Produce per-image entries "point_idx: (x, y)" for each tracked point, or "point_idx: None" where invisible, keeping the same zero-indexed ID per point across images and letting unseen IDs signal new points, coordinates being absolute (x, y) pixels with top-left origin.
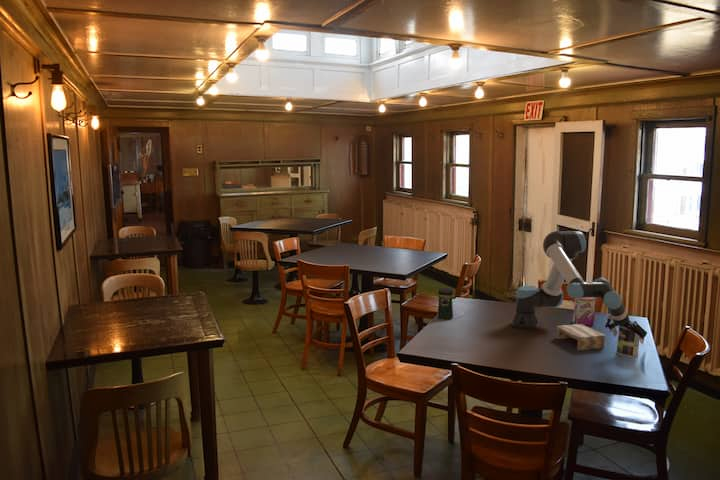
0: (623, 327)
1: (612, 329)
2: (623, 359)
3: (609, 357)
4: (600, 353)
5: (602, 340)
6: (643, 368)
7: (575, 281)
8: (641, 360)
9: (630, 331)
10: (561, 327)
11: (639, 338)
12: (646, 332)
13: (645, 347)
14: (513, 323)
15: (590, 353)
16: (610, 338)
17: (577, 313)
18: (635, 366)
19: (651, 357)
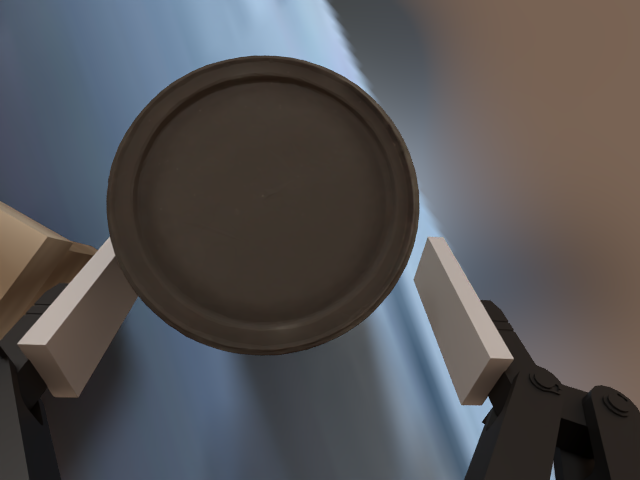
0: (191, 254)
1: (70, 391)
2: (307, 394)
3: (218, 435)
4: (136, 401)
5: (64, 269)
6: (468, 467)
7: None
8: (398, 315)
9: (330, 336)
10: None
11: (448, 358)
12: (635, 424)
13: (323, 50)
14: None
15: (73, 467)
16: (89, 29)
17: None
18: (418, 473)
19: (419, 208)
